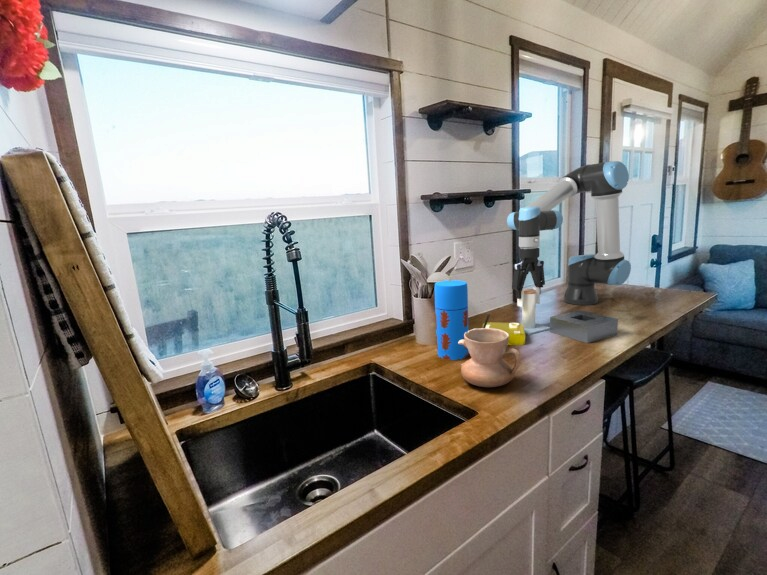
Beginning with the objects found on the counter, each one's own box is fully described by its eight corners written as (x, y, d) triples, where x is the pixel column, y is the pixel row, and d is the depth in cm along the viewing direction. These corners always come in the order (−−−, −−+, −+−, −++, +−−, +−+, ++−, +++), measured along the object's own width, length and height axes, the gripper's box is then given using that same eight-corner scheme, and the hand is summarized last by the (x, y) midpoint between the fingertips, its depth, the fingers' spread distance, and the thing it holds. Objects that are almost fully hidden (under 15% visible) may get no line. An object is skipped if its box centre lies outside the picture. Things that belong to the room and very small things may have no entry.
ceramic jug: (448, 384, 109) (446, 336, 106) (471, 366, 120) (470, 323, 117) (510, 400, 98) (510, 348, 95) (529, 379, 109) (529, 331, 106)
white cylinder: (528, 324, 156) (528, 288, 153) (538, 327, 152) (538, 290, 149) (519, 326, 154) (519, 290, 151) (528, 329, 150) (529, 292, 147)
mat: (528, 322, 161) (528, 320, 161) (551, 329, 150) (551, 327, 150) (506, 327, 156) (506, 325, 156) (528, 334, 145) (528, 333, 145)
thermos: (460, 362, 123) (458, 287, 119) (431, 356, 130) (428, 285, 125) (474, 351, 132) (472, 281, 127) (446, 346, 138) (444, 279, 134)
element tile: (483, 332, 153) (483, 320, 152) (522, 333, 149) (522, 321, 148) (482, 345, 139) (481, 332, 138) (525, 346, 135) (525, 333, 134)
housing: (578, 324, 154) (579, 310, 152) (617, 334, 139) (617, 318, 138) (549, 331, 147) (550, 316, 146) (587, 343, 133) (587, 326, 132)
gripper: (516, 250, 139) (515, 310, 144) (556, 245, 148) (554, 302, 152) (501, 249, 146) (501, 307, 150) (540, 244, 154) (540, 299, 159)
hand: (528, 304), depth 151 cm, fingers open, 8 cm apart
